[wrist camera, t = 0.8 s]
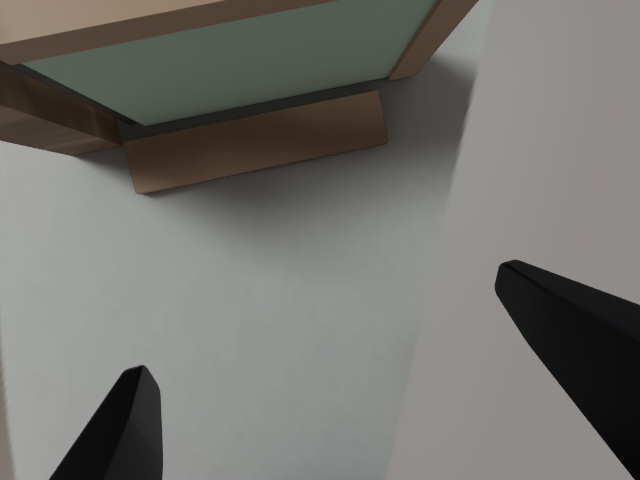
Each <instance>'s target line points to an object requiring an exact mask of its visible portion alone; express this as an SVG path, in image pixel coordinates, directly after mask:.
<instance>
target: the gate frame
mask: <svg viewBox="0 0 640 480" xmlns="http://www.w3.org/2000/svg"><path fill="white" fill-rule="evenodd" d="M115 117H116V118H118V119H120V120H122V121H124V122H126V123H128V124H135V123H136V121H134V120H132V119H130V118H128V117H126V116H124V115H122V114H120V113H118V112H116V111H114V110H113V109H111V108H109V107H107V106H105V105H103V104H101V103H99V102H97V101H95V100H93V99H91V98H89V97H87V96H85V95H83V94H81V93H79V92H77V91H75V90H73V89H71V88H69V87H67V86H65V85H63V84H61V83H59V82H57V81H55V80H53V79H51V78H49V77H47V76H45V75H43V74H41V73H39V72H37V71H35V70H33V69H31V68H29V67H27V66H25V65H23V64H21V63H20V64H15V65H9V64H7V63H5V62H3V61H1V60H0V140H1V141H5V142H10V143H14V144H19V145H24V146H28V147H33V148H38V149H42V150H47V151H51V152H56V153H61V154H65V155H70V156H75V155H80V154H85V153H90V152H95V151H99V150H104V149H109V148H114V147H119V146H123V145H124V149H125V153H126V157H127V161H128V165H129V169H130V173H131V177H132V180H133V184H134V188H135V192H136V194H146V193H151V192H156V191H160V190H165V189H170V188H175V187H180V186H184V185H189V184H194V183H199V182H204V181H209V180H213V179H218V178H223V177H228V176H233V175H237V174H242V173H247V172H252V171H257V170H262V169H266V168H271V167H276V166H281V165H286V164H290V163H295V162H300V161H305V160H310V159H315V158H319V157H324V156H329V155H334V154H339V153H344V152H348V151H353V150H358V149H363V148H368V147H372V146H377V145H382V144H386V143H387V142H388V138H387V132H386V127H385V122H384V116H383V111H382V106H381V100H380V95H379V90H375V91H370V92H365V93H361V94H356V95H351V96H346V97H341V98H336V99H331V100H326V101H321V102H316V103H312V104H307V105H302V106H297V107H292V108H287V109H282V110H277V111H272V112H267V113H263V114H258V115H253V116H248V117H243V118H238V119H233V120H228V121H223V122H218V123H214V124H209V125H204V126H199V127H194V128H189V129H184V130H179V131H174V132H169V133H165V134H160V135H155V136H150V137H145V138H140V139H135V140H130V141H125V142H123V145H122V142H121V138H120V134H119V130H118V126H117V122H116V118H115Z"/></svg>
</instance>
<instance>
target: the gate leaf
mask: <svg viewBox="0 0 640 480" xmlns="http://www.w3.org/2000/svg"><path fill="white" fill-rule="evenodd" d="M477 2H478V0H0V60H1V61H3V62H5V63H7V64H9V65H15V64H20V63H21V64H23V65H25V66H27V67H29V68H31V69H33V70H35V71H37V72H39V73H41V74H43V75H45V76H47V77H49V78H51V79H53V80H55V81H57V82H59V83H61V84H63V85H65V86H67V87H69V88H71V89H73V90H75V91H77V92H79V93H81V94H83V95H85V96H87V97H89V98H91V99H93V100H95V101H97V102H99V103H101V104H103V105H105V106H107V107H109V108H111V109H113V110H114V111H116V112H118V113H120V114H122V115H124V116H126V117H128V118H130V119H132V120H134V121H136V122H138V123H140V124H142V125H144V126H149V125H154V124H159V123H164V122H169V121H174V120H179V119H183V118H188V117H193V116H198V115H203V114H208V113H213V112H218V111H223V110H228V109H233V108H238V107H242V106H247V105H252V104H257V103H262V102H267V101H272V100H277V99H282V98H287V97H292V96H297V95H301V94H306V93H311V92H316V91H321V90H326V89H331V88H336V87H341V86H346V85H351V84H356V83H360V82H365V81H370V80H375V79H380V78H385V77H388V81H392V80H397V79H402V78H407V77H412V76H415V75H416V74H417V73H418V71H419V70H420V69H421V68H422V67H423V65H424V64H425V63H426V62H427V61H428V60H429V58H430V57H431V56H432V55H433V54H434V52H435V51H436V50H437V49H438V48H439V46H440V45H441V44H442V43H443V42H444V41H445V39H446V38H447V37H448V36H449V35H450V33H451V32H452V31H453V30H454V29H455V28H456V26H457V25H458V24H459V23H460V22H461V20H462V19H463V18H464V17H465V16H466V15H467V13H468V12H469V11H470V10H471V9H472V7H473V6H474V5H475V4H476V3H477Z"/></svg>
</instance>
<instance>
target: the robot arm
mask: <svg viewBox="0 0 640 480" xmlns="http://www.w3.org/2000/svg"><path fill="white" fill-rule="evenodd" d="M495 292H496V294H497V296H498V297H499V299H500V301H501V302H502V304H503V306H504V307H505V309H506V310H507V312H508V313H509V315H510V316H511V318H512V320H513V321H514V323H515V325H516V326H517V327H518V329H519V331H520V332H521V334H522V336H523V337H524V338H525V340H526V341H527V343H528V344H529V345H530V347H531V348H532V350H533V351H534V352H535V353H536V355H537V356H538V357H539V359H540V360H541V361H542V362H543V364H544V365H545V366H546V367H547V369H548V370H549V371H550V373H551V374H552V375H553V376H554V378H555V379H556V380H557V381H558V382H559V384H560V385H561V387H562V388H563V389H564V390H565V392H566V393H567V394H568V395H569V397H570V398H571V399H572V401H573V402H574V403H575V404H576V406H577V407H578V408H579V409H580V411H581V412H582V413H583V415H584V416H585V417H586V418H587V420H588V421H589V422H590V423H591V425H592V426H593V427H594V429H595V430H596V431H597V432H598V434H599V435H600V436H601V437H602V439H603V440H604V441H605V442H606V444H607V445H608V446H609V448H610V449H611V450H612V451H613V453H614V454H615V455H616V457H617V458H618V459H619V460H620V462H621V463H622V464H623V465H624V467H625V468H626V469H627V471H628V472H629V473H630V474H631V476H632V477H633V478H634V479H635V480H640V305H638V304H636V303H633V302H630V301H628V300H625V299H622V298H620V297H617V296H614V295H611V294H609V293H606V292H603V291H601V290H598V289H595V288H592V287H589V286H587V285H584V284H582V283H579V282H576V281H573V280H570V279H568V278H565V277H562V276H560V275H557V274H555V273H552V272H549V271H546V270H543V269H541V268H538V267H536V266H533V265H530V264H527V263H525V262H522V261H519V260H511V261H508V262H504V263H502V264H500V266H499V269H498V273H497V277H496V281H495ZM162 474H163V443H162V420H161V396H160V390H159V386H158V384H157V383H156V381H155V380H154V378H153V376H152V375H151V373H150V372H149V370H148V368H147V367H146V366H144V365H140V366H136V367H133V368H129V369H126V370H125V371H124V372H123V373H122V374H121V375H120V377H119V378H118V380H117V381H116V383H115V384H114V386H113V387H112V389H111V390H110V392H109V393H108V394H107V396H106V397H105V399H104V400H103V402H102V403H101V405H100V406H99V408H98V409H97V410H96V412H95V413H94V415H93V416H92V418H91V419H90V421H89V422H88V424H87V425H86V426H85V428H84V429H83V431H82V432H81V434H80V435H79V437H78V438H77V440H76V441H75V443H74V444H73V445H72V447H71V448H70V450H69V451H68V453H67V454H66V456H65V457H64V459H63V460H62V461H61V463H60V464H59V466H58V467H57V469H56V470H55V472H54V473H53V475H52V476H51V477H50V479H49V480H162Z"/></svg>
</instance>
